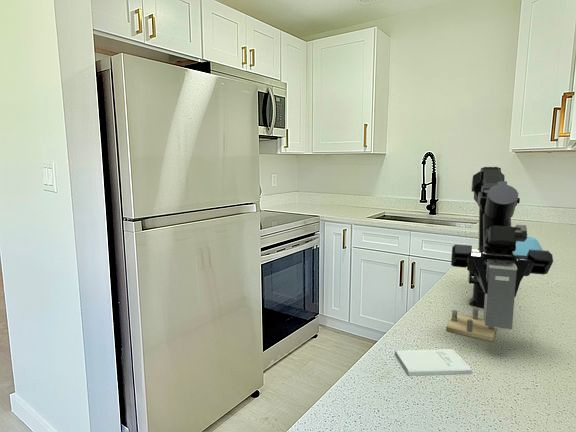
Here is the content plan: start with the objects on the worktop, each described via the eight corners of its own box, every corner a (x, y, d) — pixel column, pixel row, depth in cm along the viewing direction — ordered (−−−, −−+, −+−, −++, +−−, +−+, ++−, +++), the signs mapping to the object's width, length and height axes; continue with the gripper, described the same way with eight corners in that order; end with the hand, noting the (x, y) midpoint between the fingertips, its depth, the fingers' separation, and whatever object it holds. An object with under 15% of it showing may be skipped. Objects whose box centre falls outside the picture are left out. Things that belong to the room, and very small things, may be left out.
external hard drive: (394, 356, 79) (451, 354, 80) (408, 378, 71) (471, 376, 72) (394, 349, 79) (452, 347, 80) (408, 370, 71) (472, 368, 72)
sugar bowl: (518, 255, 160) (520, 228, 159) (552, 264, 146) (555, 235, 144) (491, 258, 156) (493, 231, 154) (524, 267, 142) (526, 238, 140)
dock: (454, 316, 98) (455, 303, 97) (497, 325, 92) (498, 312, 92) (445, 330, 90) (446, 317, 89) (492, 341, 84) (493, 327, 84)
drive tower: (483, 316, 82) (486, 259, 80) (508, 320, 80) (513, 261, 78) (485, 325, 77) (489, 265, 75) (512, 329, 75) (517, 267, 74)
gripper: (454, 208, 82) (452, 270, 74) (555, 212, 75) (565, 281, 67) (452, 236, 91) (450, 295, 82) (542, 242, 83) (550, 307, 75)
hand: (500, 294), depth 76 cm, fingers closed on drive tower, 5 cm apart
